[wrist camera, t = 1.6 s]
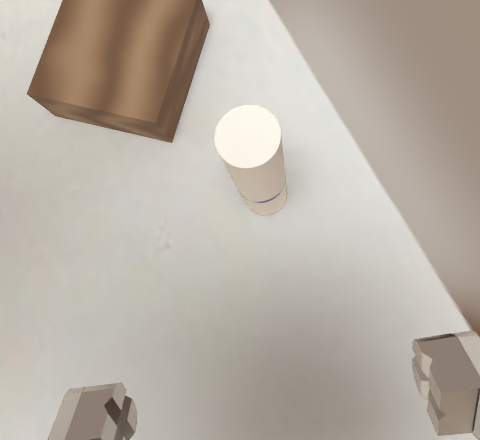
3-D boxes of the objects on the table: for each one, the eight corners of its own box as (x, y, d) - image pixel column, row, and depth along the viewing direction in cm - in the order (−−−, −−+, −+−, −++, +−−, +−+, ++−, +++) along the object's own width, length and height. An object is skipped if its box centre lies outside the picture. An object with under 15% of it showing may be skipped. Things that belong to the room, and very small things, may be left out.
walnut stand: (55, 115, 46) (26, 93, 41) (96, 5, 48) (73, -28, 43) (171, 142, 43) (155, 122, 39) (209, 24, 46) (199, -9, 41)
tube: (254, 167, 42) (230, 96, 27) (293, 182, 41) (291, 117, 26) (236, 205, 41) (203, 154, 27) (276, 221, 40) (264, 178, 26)
